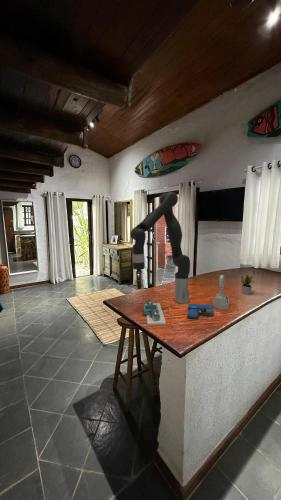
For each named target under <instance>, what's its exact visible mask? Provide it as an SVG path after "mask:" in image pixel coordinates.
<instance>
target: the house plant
mask: <svg viewBox="0 0 281 500" xmlns="http://www.w3.org/2000/svg"><path fill="white" fill-rule="evenodd" d="M238 274H239V276H240V278H241V280H239V283H242V284H241V290H242V294H243V295H247V296H249V295H251V292H252V288H253V285H252V284H254V283H257V281H253V280H255V278H256V275H255V274H253V275H252V276H250V274H249V272H247V273H245V278H244V276H242V274H240V273H238Z"/></svg>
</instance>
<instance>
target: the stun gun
mask: <svg viewBox="0 0 281 500" xmlns="http://www.w3.org/2000/svg"><path fill="white" fill-rule="evenodd" d="M187 311H188V312H187V315H186V318H187V320H199V317H200V316H202V317H211V316H214V315H215V312H214V306H213V304H205V303H204V304H202V303H201V304H200V303H187Z"/></svg>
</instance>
